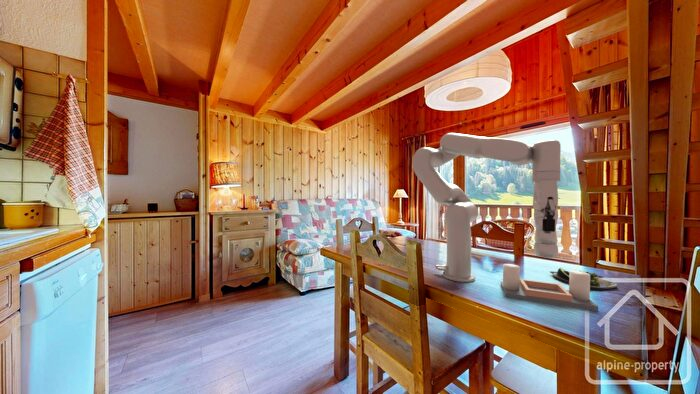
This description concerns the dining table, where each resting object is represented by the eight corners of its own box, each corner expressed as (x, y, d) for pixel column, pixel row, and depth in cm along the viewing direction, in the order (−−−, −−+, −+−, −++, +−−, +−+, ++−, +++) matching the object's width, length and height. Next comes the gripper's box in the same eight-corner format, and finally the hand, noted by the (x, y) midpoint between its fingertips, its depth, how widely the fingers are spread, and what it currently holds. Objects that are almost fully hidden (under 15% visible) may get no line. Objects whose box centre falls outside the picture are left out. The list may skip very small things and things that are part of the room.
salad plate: (581, 274, 110) (581, 263, 110) (632, 289, 92) (632, 277, 92) (543, 275, 108) (543, 265, 108) (587, 292, 90) (587, 279, 90)
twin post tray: (505, 297, 85) (505, 269, 85) (500, 285, 96) (500, 260, 96) (598, 311, 75) (598, 280, 75) (581, 296, 86) (581, 269, 86)
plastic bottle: (551, 260, 80) (551, 199, 80) (529, 255, 87) (529, 198, 86) (562, 258, 83) (563, 199, 83) (540, 254, 89) (540, 198, 89)
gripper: (526, 179, 94) (526, 226, 94) (539, 176, 78) (539, 232, 78) (551, 178, 91) (550, 227, 91) (569, 175, 75) (569, 234, 75)
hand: (545, 229), depth 85 cm, fingers closed on plastic bottle, 6 cm apart
